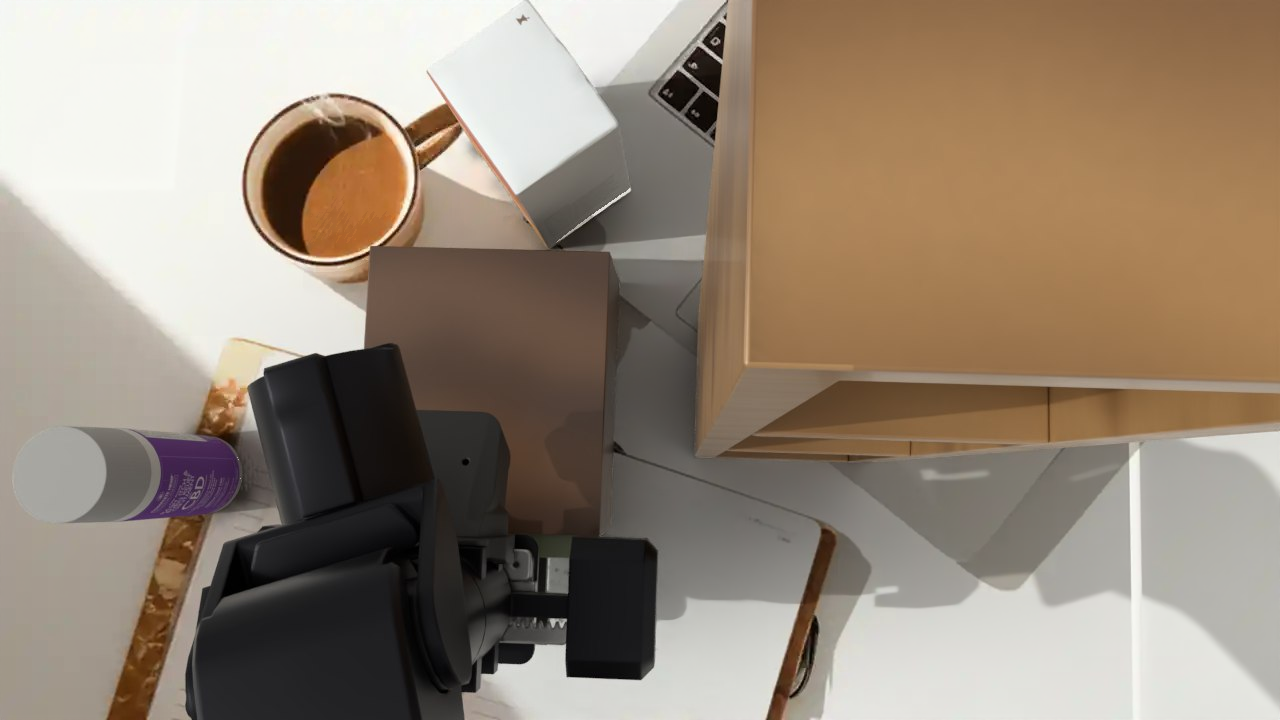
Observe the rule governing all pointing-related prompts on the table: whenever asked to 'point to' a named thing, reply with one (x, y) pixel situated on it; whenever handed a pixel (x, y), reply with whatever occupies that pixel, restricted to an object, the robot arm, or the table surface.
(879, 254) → the rack
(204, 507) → the container
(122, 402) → the table surface
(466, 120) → the small box
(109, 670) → the table surface
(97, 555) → the table surface
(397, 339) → the brown box
